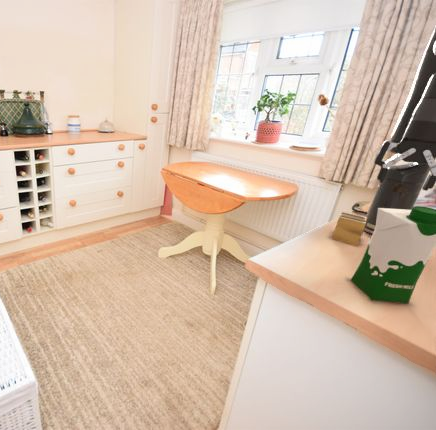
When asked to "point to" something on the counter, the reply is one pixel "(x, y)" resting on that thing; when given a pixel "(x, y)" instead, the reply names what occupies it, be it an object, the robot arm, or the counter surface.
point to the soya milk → (397, 253)
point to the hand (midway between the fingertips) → (401, 185)
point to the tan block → (349, 228)
